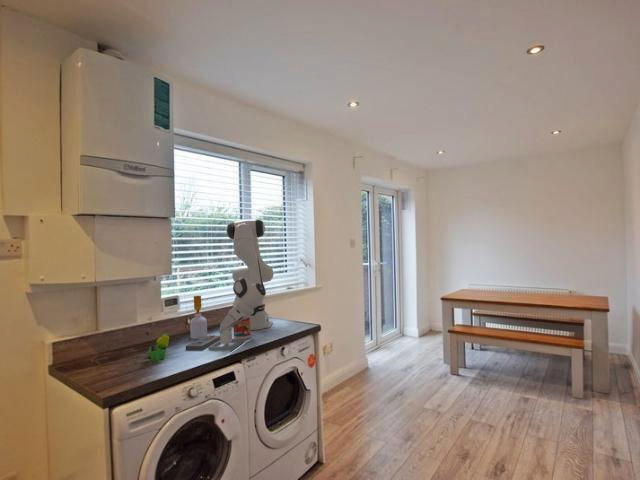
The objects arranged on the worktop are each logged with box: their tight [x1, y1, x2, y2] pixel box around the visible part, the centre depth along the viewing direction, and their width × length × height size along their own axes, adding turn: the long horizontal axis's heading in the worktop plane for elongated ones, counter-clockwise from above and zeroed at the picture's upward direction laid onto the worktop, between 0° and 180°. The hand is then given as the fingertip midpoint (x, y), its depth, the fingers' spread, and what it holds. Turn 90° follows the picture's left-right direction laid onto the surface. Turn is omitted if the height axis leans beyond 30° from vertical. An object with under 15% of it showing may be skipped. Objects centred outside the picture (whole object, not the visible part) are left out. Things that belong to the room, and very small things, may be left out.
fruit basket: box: [148, 333, 170, 363], centre depth 175 cm, size 11×9×11 cm
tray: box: [207, 338, 244, 353], centre depth 187 cm, size 16×12×2 cm
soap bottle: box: [189, 295, 208, 340], centre depth 210 cm, size 9×9×25 cm
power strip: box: [185, 334, 220, 351], centre depth 192 cm, size 20×9×4 cm, turn 169°
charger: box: [219, 327, 233, 347], centre depth 187 cm, size 4×4×10 cm
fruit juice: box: [232, 294, 252, 341], centre depth 204 cm, size 9×9×28 cm
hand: (224, 330), depth 187 cm, fingers open, 8 cm apart
